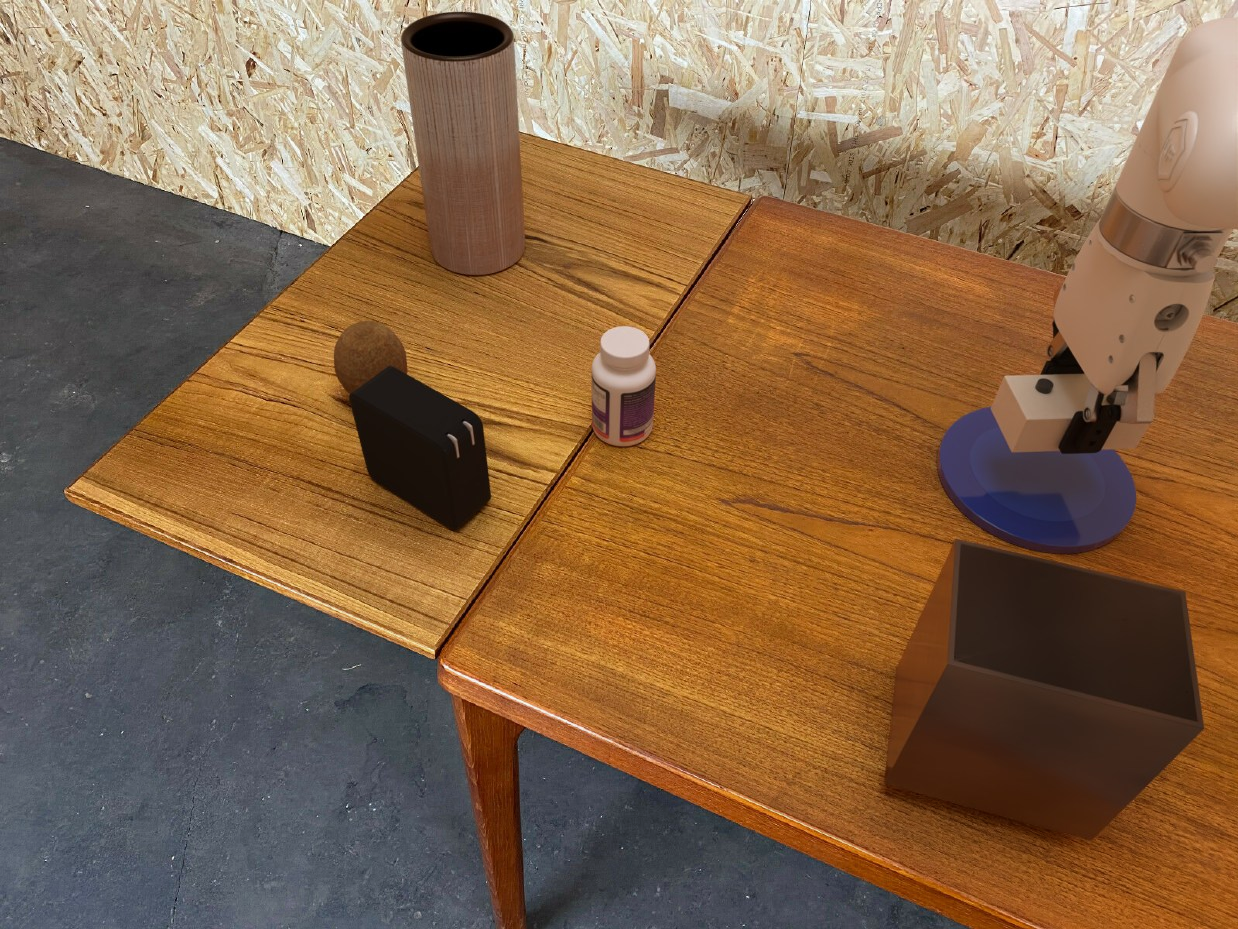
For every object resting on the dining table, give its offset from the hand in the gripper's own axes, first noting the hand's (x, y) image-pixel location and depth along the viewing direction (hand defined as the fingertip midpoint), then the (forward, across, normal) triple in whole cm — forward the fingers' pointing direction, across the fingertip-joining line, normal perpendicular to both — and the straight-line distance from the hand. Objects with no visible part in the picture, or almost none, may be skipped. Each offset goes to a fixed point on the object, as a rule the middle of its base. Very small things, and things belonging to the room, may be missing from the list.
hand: (1064, 422), depth 76 cm
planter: (+7, +36, +48) cm, 60 cm away
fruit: (+7, +13, +56) cm, 58 cm away
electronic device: (+7, +2, +51) cm, 51 cm away
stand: (+8, -23, +12) cm, 27 cm away
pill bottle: (+7, +8, +34) cm, 36 cm away
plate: (+7, 0, 0) cm, 7 cm away
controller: (+1, 0, 0) cm, 1 cm away
